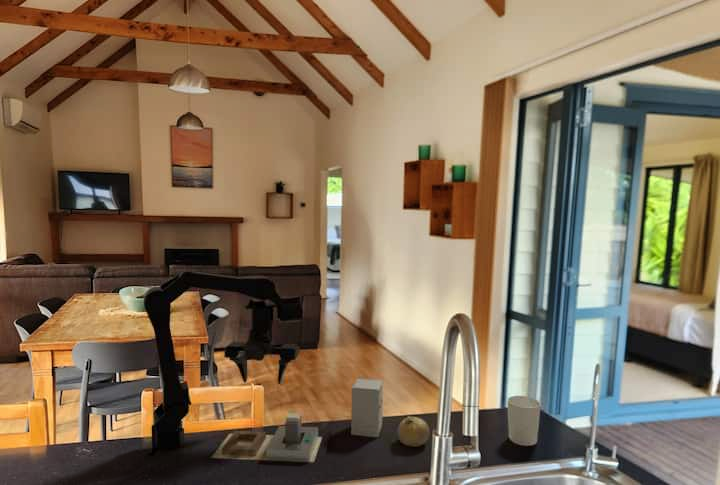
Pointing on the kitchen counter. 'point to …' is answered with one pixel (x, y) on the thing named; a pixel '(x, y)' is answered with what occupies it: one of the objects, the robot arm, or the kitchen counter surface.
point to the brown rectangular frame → (251, 450)
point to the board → (261, 453)
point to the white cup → (523, 420)
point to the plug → (293, 429)
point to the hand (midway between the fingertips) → (262, 382)
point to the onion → (413, 431)
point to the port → (292, 446)
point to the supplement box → (366, 407)
